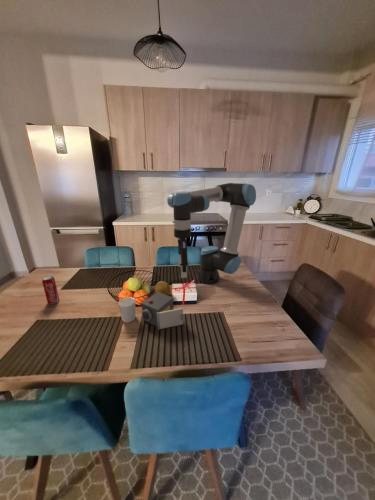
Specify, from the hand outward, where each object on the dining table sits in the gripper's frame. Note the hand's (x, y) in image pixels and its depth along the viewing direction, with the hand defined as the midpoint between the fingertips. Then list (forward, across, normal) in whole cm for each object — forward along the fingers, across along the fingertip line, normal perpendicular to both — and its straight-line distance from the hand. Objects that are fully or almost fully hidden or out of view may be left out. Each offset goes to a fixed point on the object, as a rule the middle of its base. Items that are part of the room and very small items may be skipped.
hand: (182, 271), depth 101 cm
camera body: (+24, +3, -13) cm, 28 cm away
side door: (+23, +11, -7) cm, 27 cm away
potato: (+24, -16, -10) cm, 31 cm away
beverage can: (+24, -19, -72) cm, 78 cm away
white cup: (+24, +1, -28) cm, 37 cm away
